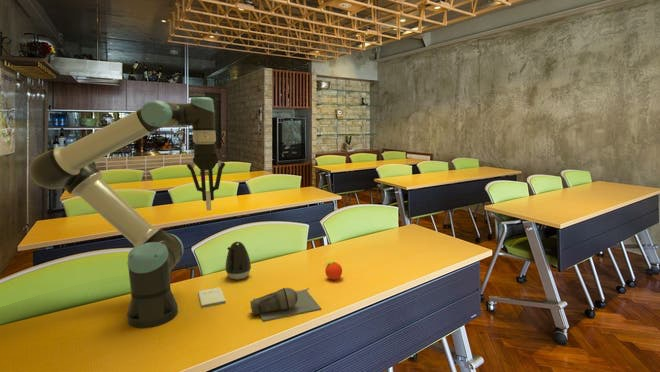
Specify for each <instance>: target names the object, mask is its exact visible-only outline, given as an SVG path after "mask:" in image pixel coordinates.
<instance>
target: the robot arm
mask: <svg viewBox="0 0 660 372" xmlns="http://www.w3.org/2000/svg"><path fill="white" fill-rule="evenodd" d="M215 112H216V111H215V104H214V99H213V98H211V97H207V96H205V97H204V96H201V97H200V96H199V97H198V96H196V97H194V96H193V97H191V98H190V101H189V102H188V103H175V102H174V103H173V102H172V103H171V102H168V101H167V102H166V101H162V100H157V99H156V100H149V101H147V102H145V103H144V104H143V105H142V107H141V108H140V109H137V110H135V111H133V112H132V113H130V114H127V115H126V116H124V117H121V118H119V119H117V120H115V121H113V122H111V123H110V124H108V125H106V126H104V127H102V128H99V129H98V130H95V131H94V132H91V133H90V134H87V135H86V136H84V137H82V138H79V139H78V140H75V141H74V142H72V143H70V144H68V145H65V146H56V147H54V148H52V149H50V150H48V151H45V152H43V153H40V154H39V155H37V156H36V157H34V159H32V160H31V163H30V165H29V171H28V172H29V175H30V178H31V179H32V181H33V182H34V183H35V184H36V185H38V186H40V187H42V188H45V189H49V190H58V189H59V190H60V189H62V188H63V190H65V191H66V192H67V193H68V194H70V196H71V197H80V198H81V199H82V200H83V201H84V202H86V204H88V205H89V206H90V207H91V208H92V209H93V210H95V212H97V213H98V214H99V215H100V216H101V217H102V218H104V220H106V221H107V222H108V223H109V224H110V225H111V226H112V227H113V228H114V229H115V230H117V231H118V233H120V234H121V235H122V236H123V237H124V238H126V239H127V241H129V242H130V243H131V244H132V245H133V248H132V249H130V250H129V252H128V255H127V263H126V264H127V269H128V275H129V277H128V278H129V286H130V297H131V298H130V301H129V305H128V310H127V315H126V318H127V324H128V325H129V326H132V327H135V328H140V327H144V328H152V327H157V326H160V325H163V324H165V323H167V322H169V321H171V320H173V319H174V318H175V317H176V316H177V315H178V313H179V306H178V303H177V300H176V298H175V297H174V294H173V292H172V289H171V278H170V277H171V276H170V273H171V272H172V271H173V269H174V268H175V266H177V265H178V264H179V263H180V261H181V259H182V257H183V256H184V245H183V242H182V240H181V239H180V238H179V236H177V235H175V234H172V233H168V232H166V231H165V230H164V229H162V228H161V227H154V226H153V225H152V224H151V223H149V222H148V221H147V220H146V219H145V218H144V217H143V216H142V215H141V214H140V213H138V211H137V210H136V209H134V208H133V207H132V206H131V205H130V204H129V203H128V202H127V201H126V200H125V199H124V198H122V197H121V196H120V195H119V194H118V193H117V192H116V191H115V190H114V189H113V188H112V187H111V186H110V185H108V184H107V182H105V181H104V180H103V178H102V177H103V173H102V172H101V171H100V170H99V169H98V167H97V161H98V160H101V159H102V158H104V157H106V156H108V155H110V154H112V153H114V152H116V151H118V150H120V149H122V148H124V147H125V146H127V145H129V144H131V143H133V142H136V141H138V140H140V139H141V138H143V137H146V136H147V135H149V134H151V133H153V132H155V131H158V130H160V129H161V128H163V127H183V126H184V127H186V126H187V127H190V126H191V128H192V141H193V143H194V144H193V158H192V161H190V163H187V164H186V167H187V168H188V170H189V171H190V174H191V176H192V180H193V183H194V186H195V189H196V191H198V192H201V196H202V197H201V198H202V201H203V202H205V206H206V207H205V208H206V211H207V212H209V211H212V201H214V200H215V195H214V194H215V193H214V192H215V191H218V190H219V188H220V184H221V178H222V174H223V169H224V167H225V166H226V163H225V162H223V161H221V160H219V157H218V153H217V150H218V149H217V144H216V142H217V136H216V135H217V134H216V117H215V116H216V115H215V114H216V113H215ZM216 165H217V167H218V168H217V172H216V176H215V177H216V178H215V182H214V176H213V172H214V171H213V169H214V168H215V166H216ZM195 166H196V167H197V168H198V169H199V170H200V181H201V184H199V180H198V178H197V174H196V172H195V169H194V168H195ZM206 170H207V173H208V186H209V189H208V190H207V187H206ZM200 185H201V186H200Z"/></svg>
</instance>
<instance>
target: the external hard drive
mask: <svg viewBox="0 0 660 372" xmlns="http://www.w3.org/2000/svg"><path fill="white" fill-rule="evenodd" d="M197 294H198V298H199V303H200V307H201V309H203V308H209V307H214V306H219V305H224V304H227V303H226V302H227V301H226V299H225V296H224V293H223V291H222V288H221V287H214V288H208V289H203V290H202V289H201V290H199V291H197Z"/></svg>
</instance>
